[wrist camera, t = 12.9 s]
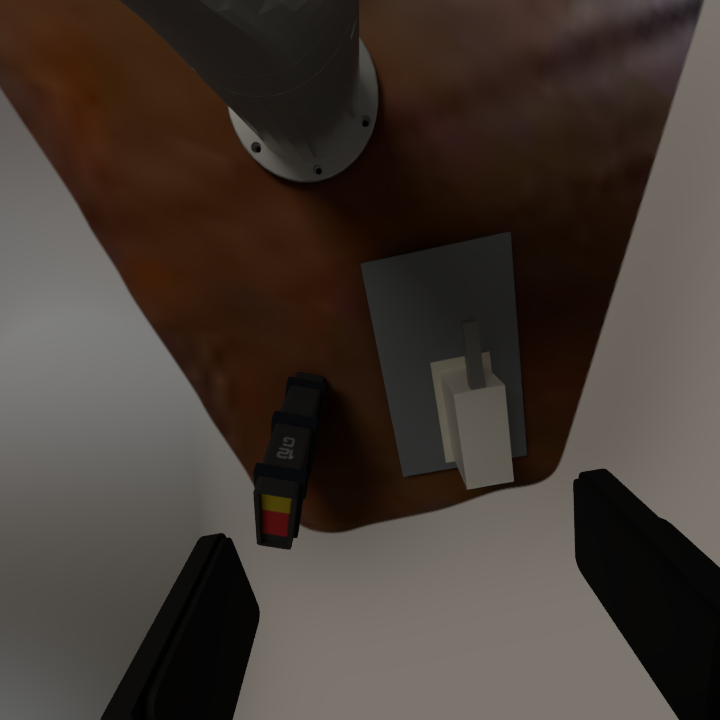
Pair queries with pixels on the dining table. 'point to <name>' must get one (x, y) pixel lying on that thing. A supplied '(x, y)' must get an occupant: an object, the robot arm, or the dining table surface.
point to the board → (443, 338)
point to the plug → (477, 416)
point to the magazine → (288, 462)
